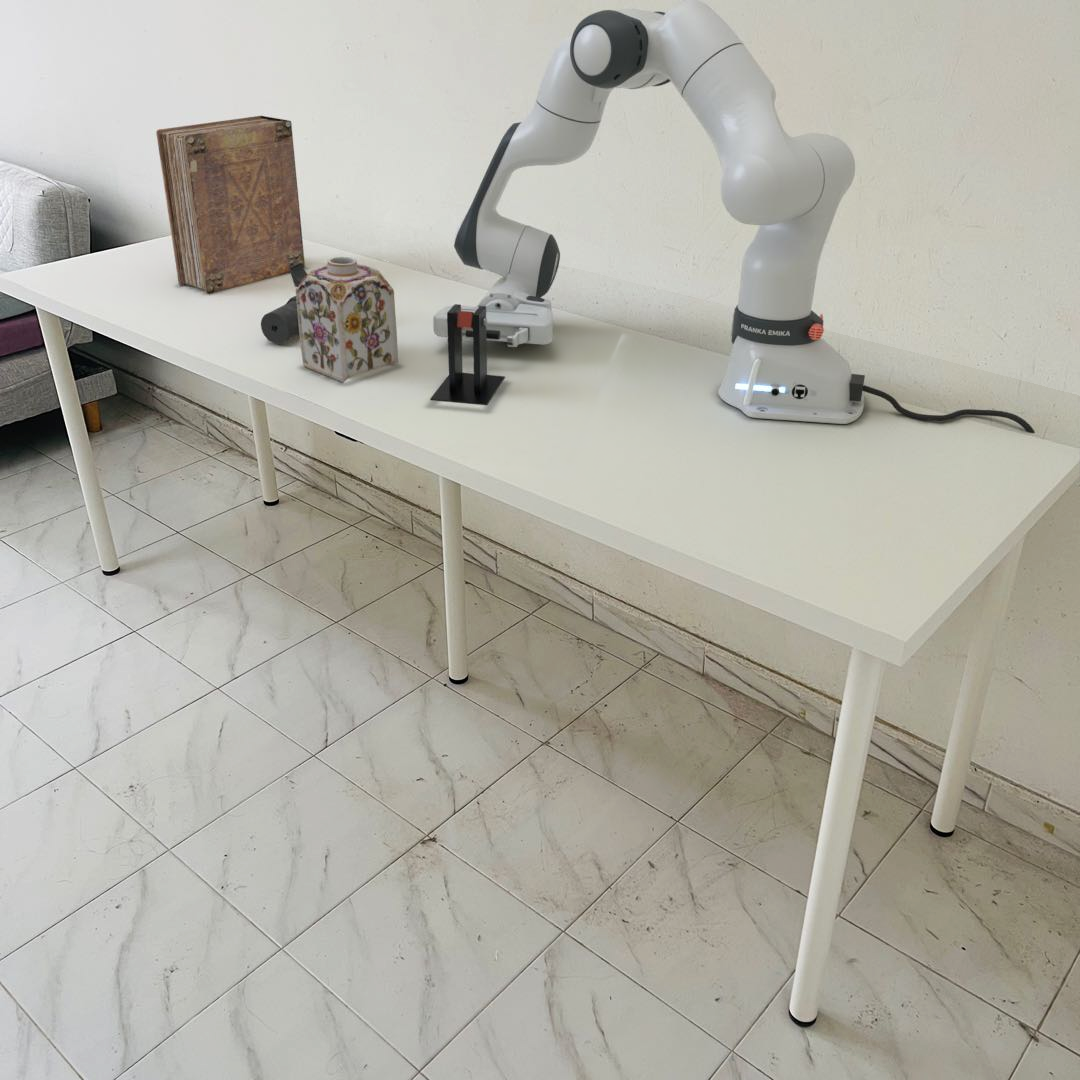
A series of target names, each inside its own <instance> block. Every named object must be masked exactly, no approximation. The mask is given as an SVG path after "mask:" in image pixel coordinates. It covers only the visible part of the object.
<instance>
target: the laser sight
mask: <svg viewBox="0 0 1080 1080" xmlns="http://www.w3.org/2000/svg"><path fill="white" fill-rule="evenodd" d="M289 270H290V272H289V273H290V276H291V279H292V282H293V285H294V288H298V286H299V284H300V283H301V282H302V280H303V279H304V278H305V277H306V276H307V274H308V272H307V271H306V270H305V268H303V266H302V262H299V263H296V264H294V265H292V266H290V267H289ZM260 329H261V332H262V335H263V336H264V337H265V339H267V340H268V341H269V342H270V343H272V344H275V345H280V344H284V343H285V342H287V341H289V340H290V339H292V338H294V337H295V336H298V335H300V334H299V323H298V311H297V300H296V295H294V296H292V297H290V298H289V299H288V300H287V302H286V303H285V304H284V305H282V306H280V307H276V308H275V309H273V310H272V311H269V312H268V313H265V314H264V315H263V316H262V318H261V321H260Z"/></svg>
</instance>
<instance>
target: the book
mask: <svg viewBox="0 0 1080 1080" xmlns="http://www.w3.org/2000/svg"><path fill="white" fill-rule="evenodd" d="M292 125H293V123H292V121H291V120H288V119H283V118H276V117H272V116H271V117H270V116H265V115H256V116H248V117H241V118H234V119H227V120H226V119H225V120H217V121H211V122H204V123H196V124H189V125H183V126H182V125H181V126H175V127H168V128H159V129H157V130H156V132H155V133H156V141H157V147H158V153H159V154H158V155H159V160H160V168H161V173H162V180H163V187H164V193H165V200H166V207H167V213H168V221H169V228H170V234H171V242H172V248H173V254H174V262H175V268H176V276H177V282H178V285H179V286H180V287H182V286H186V285H189V286H191V287H194V288H197V289H201V290H204V292H205V294H207V295H208V294H214V293H217V292H222V291H224V290H229V289H232V288H236V287H241V286H243V285H247V284H251V283H255V282H258V281H262V280H265V279H269V278H272V277H277V276H280V275H284V274H288V273H290V270H289V267H290V266H292V265H294V264H296V263H299V262H302V266H303V268H304V269H305V268H306V265H305V264H306V263H305V252H304V241H303V232H302V222H301V209H300V201H299V190H298V189H299V188H298V178H297V167H296V157H295V147H294V137H293V126H292Z"/></svg>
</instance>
